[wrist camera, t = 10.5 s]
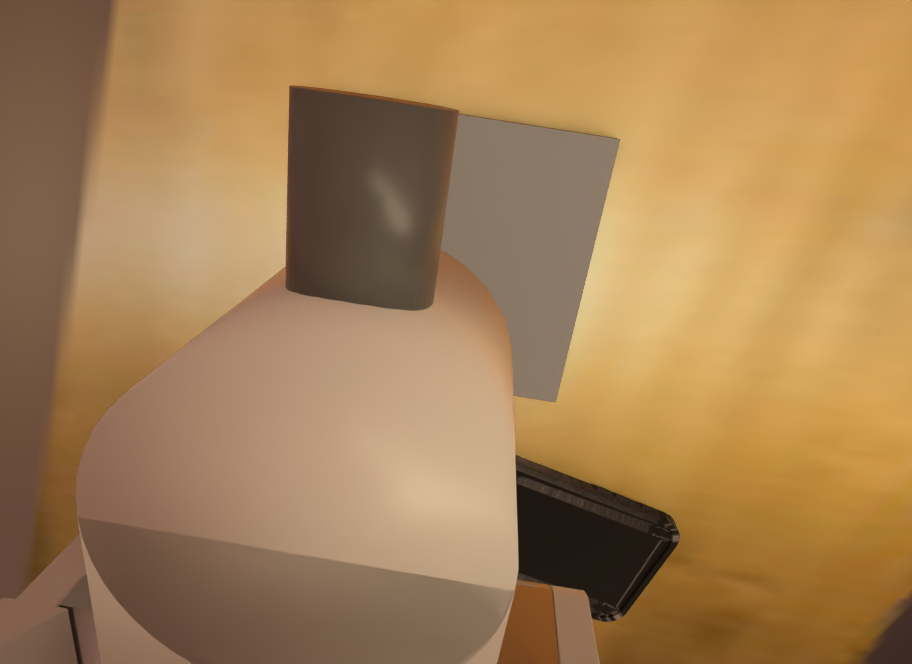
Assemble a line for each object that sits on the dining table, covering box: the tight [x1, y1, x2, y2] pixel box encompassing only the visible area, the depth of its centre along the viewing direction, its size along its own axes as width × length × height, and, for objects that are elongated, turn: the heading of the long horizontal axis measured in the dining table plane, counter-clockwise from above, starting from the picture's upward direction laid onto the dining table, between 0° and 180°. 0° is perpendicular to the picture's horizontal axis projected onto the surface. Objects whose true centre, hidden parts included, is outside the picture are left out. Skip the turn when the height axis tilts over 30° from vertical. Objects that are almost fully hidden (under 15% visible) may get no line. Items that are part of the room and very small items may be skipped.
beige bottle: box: [75, 86, 519, 664], centre depth 8 cm, size 14×4×4 cm, turn 172°
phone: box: [515, 455, 680, 622], centre depth 30 cm, size 8×1×15 cm
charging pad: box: [441, 114, 620, 402], centre depth 25 cm, size 12×12×1 cm
